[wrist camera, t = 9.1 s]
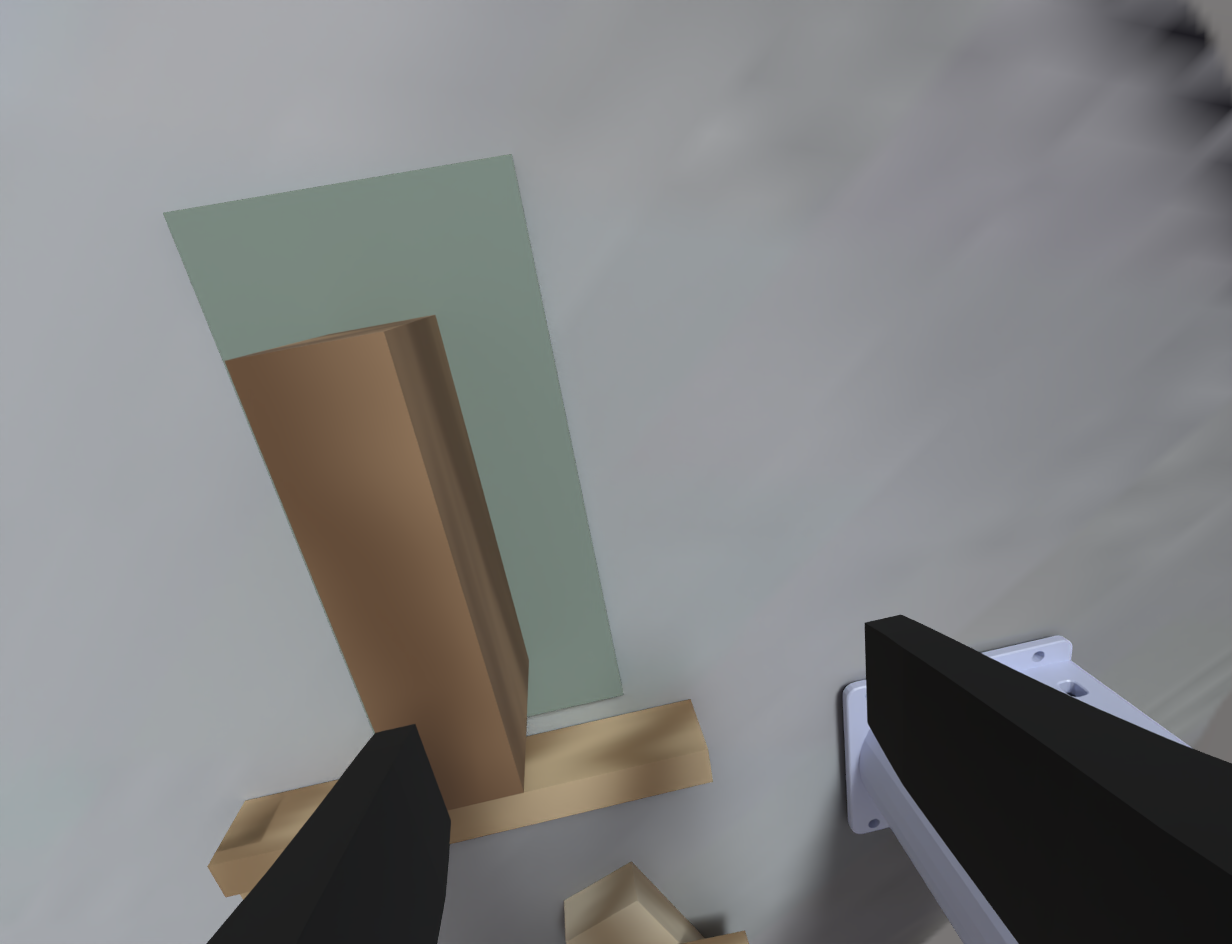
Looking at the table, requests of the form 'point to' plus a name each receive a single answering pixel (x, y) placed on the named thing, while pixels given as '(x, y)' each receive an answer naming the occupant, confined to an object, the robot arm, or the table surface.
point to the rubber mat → (475, 348)
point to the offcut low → (625, 913)
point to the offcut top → (724, 939)
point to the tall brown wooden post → (399, 541)
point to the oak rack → (553, 788)
